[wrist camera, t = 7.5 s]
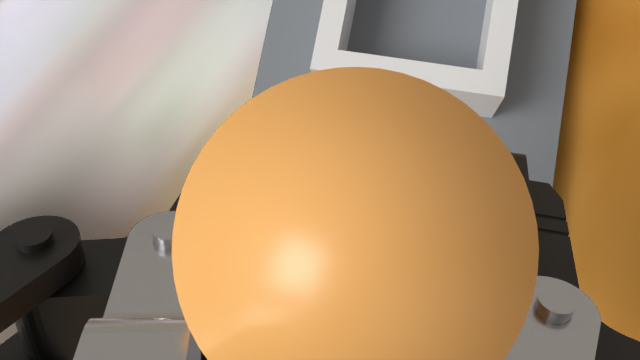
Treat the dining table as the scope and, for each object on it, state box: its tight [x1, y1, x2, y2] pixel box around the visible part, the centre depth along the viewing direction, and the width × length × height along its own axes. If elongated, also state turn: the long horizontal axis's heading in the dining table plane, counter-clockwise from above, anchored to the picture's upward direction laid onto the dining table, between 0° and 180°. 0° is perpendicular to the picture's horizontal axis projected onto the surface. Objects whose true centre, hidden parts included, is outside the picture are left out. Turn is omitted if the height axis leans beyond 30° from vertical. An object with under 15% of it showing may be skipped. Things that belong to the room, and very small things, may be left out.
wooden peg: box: [172, 67, 539, 360], centre depth 12 cm, size 4×4×10 cm
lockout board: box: [252, 0, 577, 188], centre depth 27 cm, size 22×14×4 cm, turn 169°
